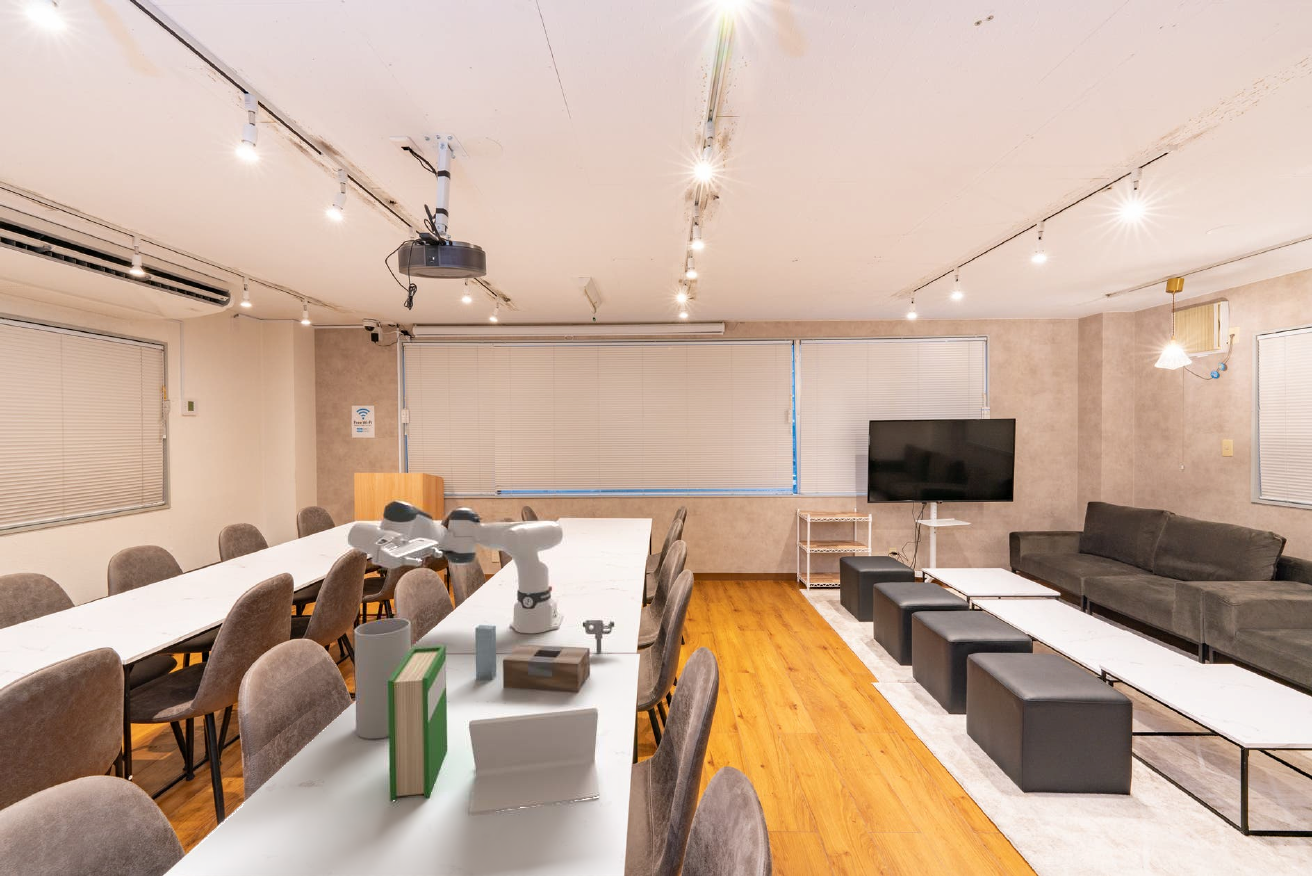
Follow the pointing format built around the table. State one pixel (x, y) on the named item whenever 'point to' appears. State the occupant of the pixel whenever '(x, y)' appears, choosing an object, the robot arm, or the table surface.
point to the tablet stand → (533, 760)
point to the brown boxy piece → (546, 668)
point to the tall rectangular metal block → (485, 652)
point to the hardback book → (417, 721)
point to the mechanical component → (597, 630)
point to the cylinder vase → (377, 671)
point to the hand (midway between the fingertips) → (430, 559)
